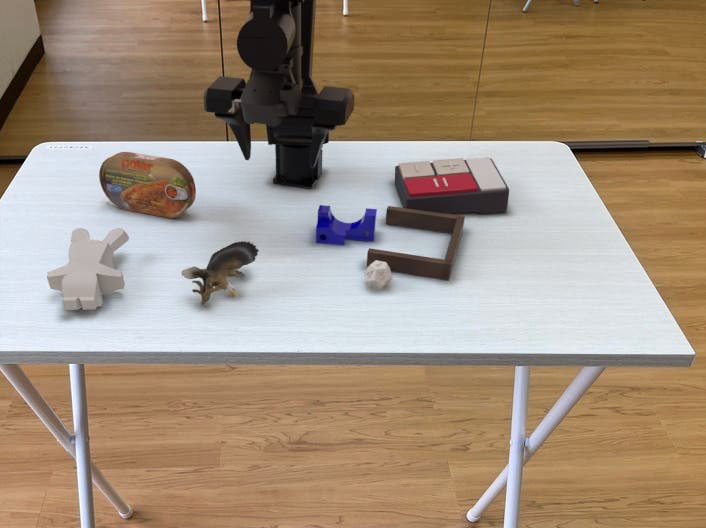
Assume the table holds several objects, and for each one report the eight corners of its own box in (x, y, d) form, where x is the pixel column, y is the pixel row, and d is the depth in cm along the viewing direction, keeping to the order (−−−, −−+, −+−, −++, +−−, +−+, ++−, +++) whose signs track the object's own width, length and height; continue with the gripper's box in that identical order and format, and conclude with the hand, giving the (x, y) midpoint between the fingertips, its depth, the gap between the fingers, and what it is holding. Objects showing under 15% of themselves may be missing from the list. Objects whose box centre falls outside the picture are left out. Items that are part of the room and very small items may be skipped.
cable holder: (315, 242, 109) (316, 217, 106) (319, 230, 111) (319, 205, 109) (372, 247, 108) (374, 221, 105) (375, 234, 110) (376, 209, 107)
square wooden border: (366, 267, 104) (367, 251, 102) (386, 221, 113) (388, 205, 111) (448, 280, 101) (451, 264, 99) (462, 231, 110) (465, 216, 109)
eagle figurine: (241, 310, 95) (272, 262, 100) (204, 266, 91) (238, 219, 96) (201, 321, 100) (233, 275, 105) (166, 280, 97) (200, 235, 102)
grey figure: (35, 290, 94) (61, 215, 104) (46, 321, 97) (70, 246, 107) (114, 290, 93) (132, 215, 103) (121, 321, 97) (138, 246, 107)
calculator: (394, 160, 119) (491, 152, 119) (393, 186, 122) (488, 178, 122) (406, 194, 111) (511, 185, 111) (405, 221, 114) (507, 212, 114)
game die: (397, 286, 100) (399, 266, 98) (374, 295, 99) (375, 275, 97) (380, 274, 103) (382, 254, 101) (357, 282, 101) (359, 263, 99)
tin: (103, 205, 118) (93, 153, 112) (114, 196, 120) (104, 144, 114) (191, 223, 113) (185, 169, 108) (201, 213, 115) (196, 160, 110)
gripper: (181, 58, 91) (193, 181, 101) (336, 72, 87) (332, 199, 97) (214, 29, 99) (223, 146, 109) (357, 41, 95) (352, 161, 105)
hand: (280, 162), depth 105 cm, fingers open, 9 cm apart
